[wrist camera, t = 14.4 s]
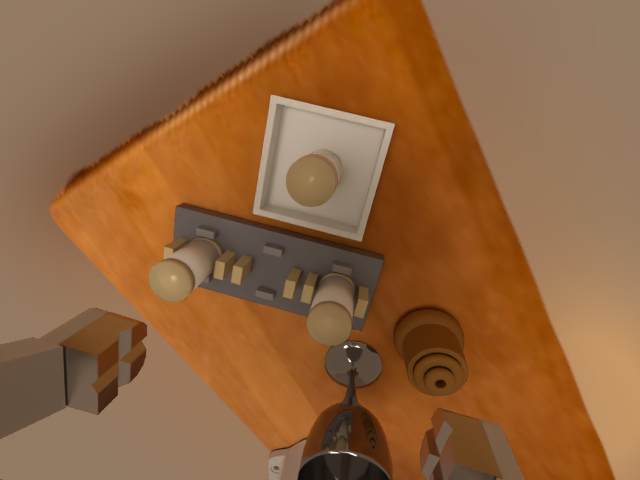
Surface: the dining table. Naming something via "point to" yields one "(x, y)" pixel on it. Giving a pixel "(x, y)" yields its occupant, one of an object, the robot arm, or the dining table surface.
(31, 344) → the robot arm
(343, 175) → the tray
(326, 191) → the marked fuse
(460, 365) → the ornamental finial
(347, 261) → the fuse block
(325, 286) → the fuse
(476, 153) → the dining table surface
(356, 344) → the wine glass
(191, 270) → the fuse
